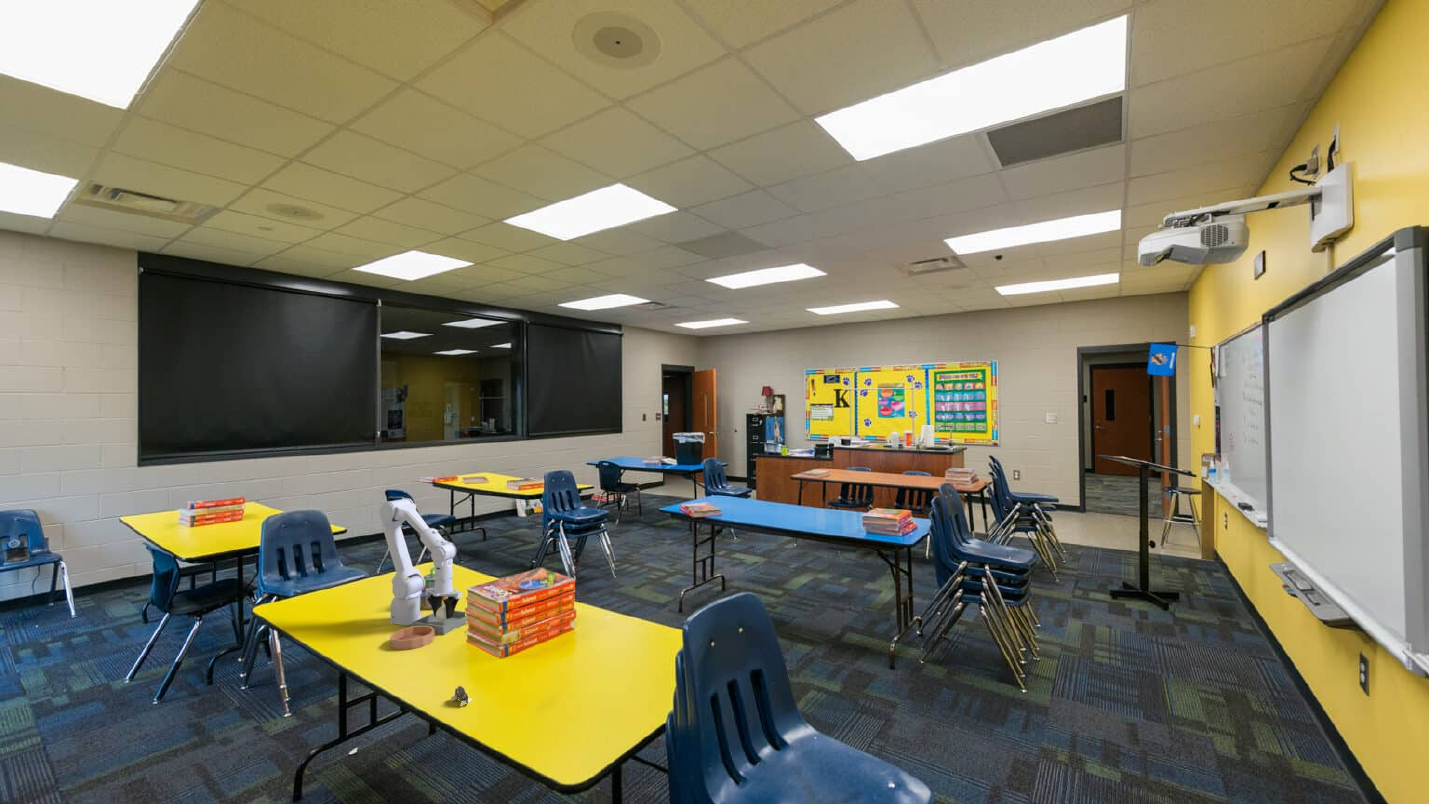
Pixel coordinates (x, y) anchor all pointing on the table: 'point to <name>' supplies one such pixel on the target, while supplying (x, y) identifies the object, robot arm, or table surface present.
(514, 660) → the table surface
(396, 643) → the bowl
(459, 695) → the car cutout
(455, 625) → the tray
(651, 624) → the table surface
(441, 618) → the ball
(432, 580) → the chalk box
